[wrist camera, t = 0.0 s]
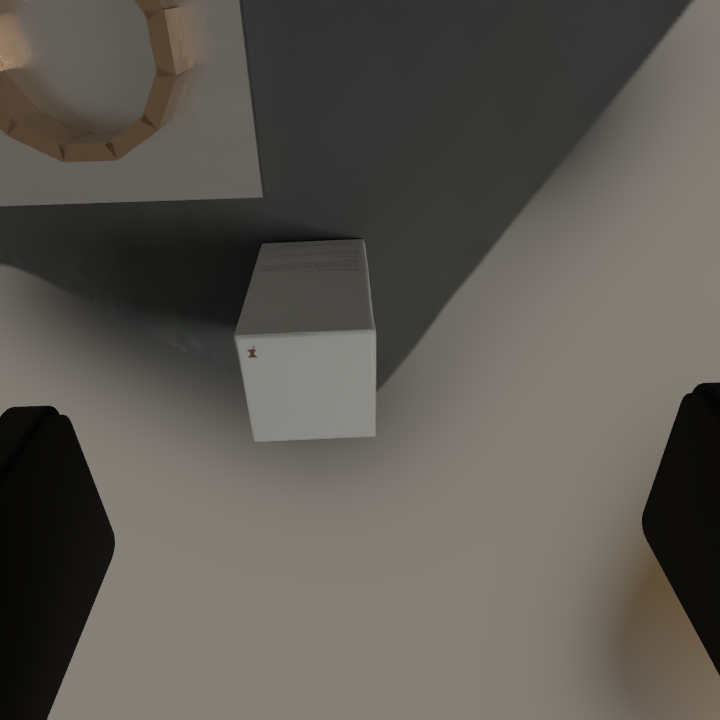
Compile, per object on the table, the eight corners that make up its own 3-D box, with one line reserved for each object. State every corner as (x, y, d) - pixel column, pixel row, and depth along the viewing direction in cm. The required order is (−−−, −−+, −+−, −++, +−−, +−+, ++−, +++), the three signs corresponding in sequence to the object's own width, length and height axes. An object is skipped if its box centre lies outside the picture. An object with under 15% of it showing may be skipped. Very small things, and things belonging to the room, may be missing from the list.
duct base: (-151, -165, 28) (-218, -185, 25) (221, -177, 28) (204, -198, 25) (-11, 201, 38) (-46, 223, 35) (264, 192, 38) (256, 212, 35)
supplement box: (271, 333, 44) (248, 445, 33) (260, 240, 40) (229, 333, 29) (369, 330, 44) (377, 441, 33) (368, 237, 40) (376, 329, 29)
